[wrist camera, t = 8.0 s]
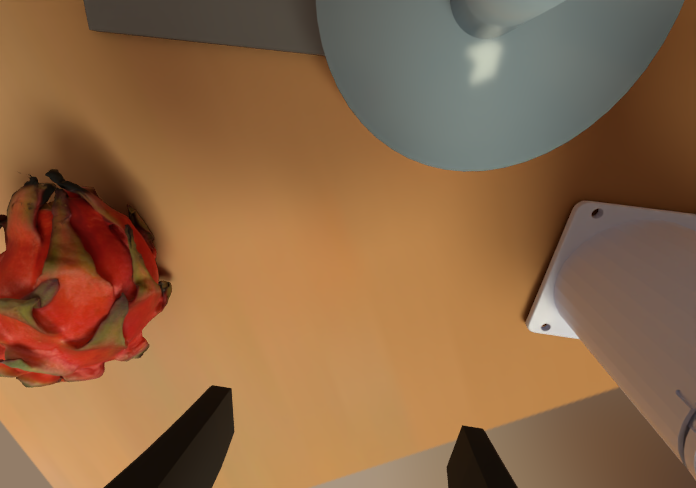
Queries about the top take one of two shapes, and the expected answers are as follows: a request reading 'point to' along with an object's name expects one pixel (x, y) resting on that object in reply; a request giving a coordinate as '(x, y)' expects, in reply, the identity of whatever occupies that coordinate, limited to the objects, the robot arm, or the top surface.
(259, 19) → the mat
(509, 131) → the lid
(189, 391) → the top surface
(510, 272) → the top surface
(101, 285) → the dragon fruit
